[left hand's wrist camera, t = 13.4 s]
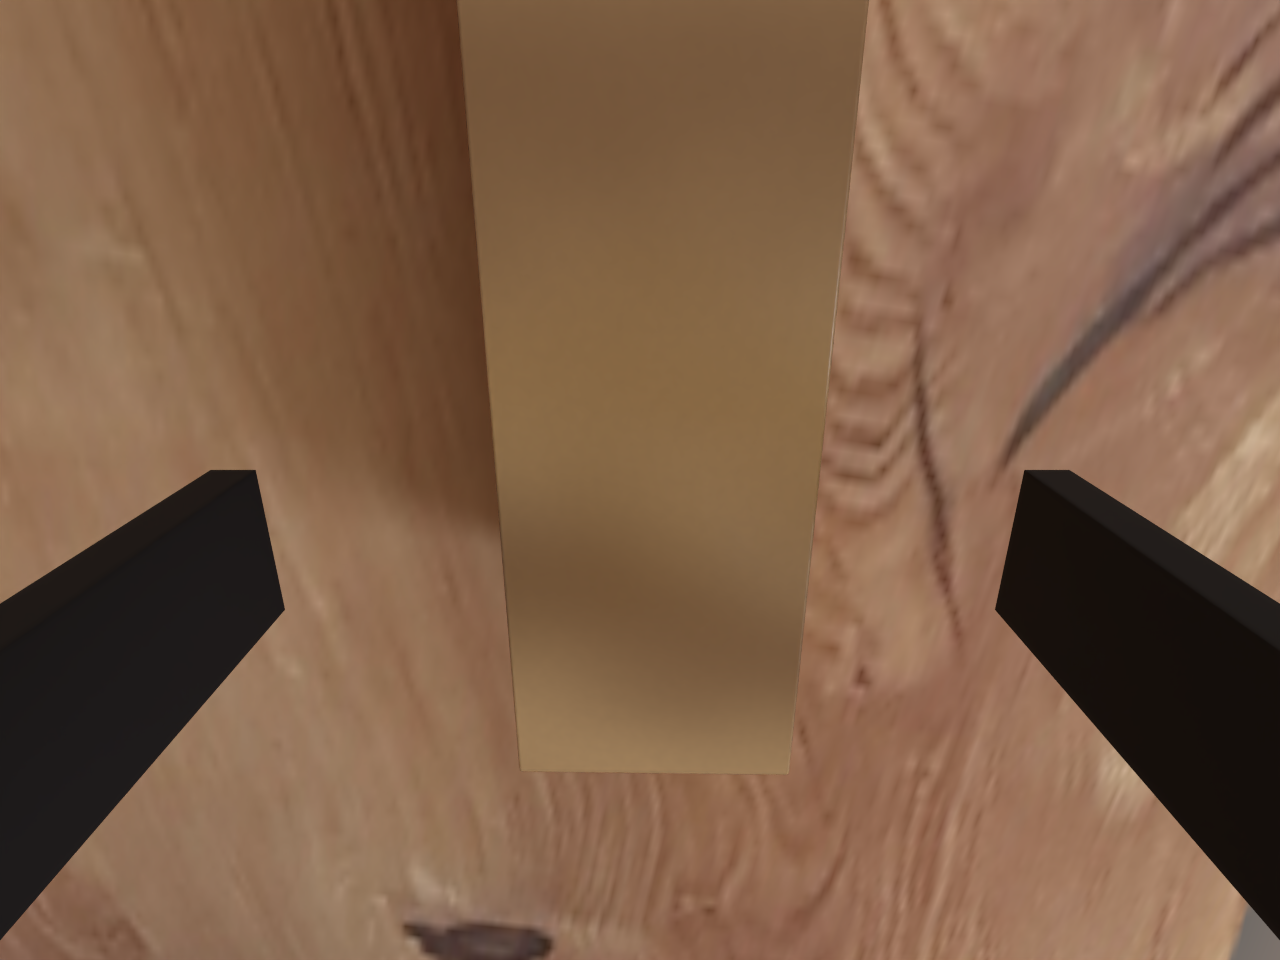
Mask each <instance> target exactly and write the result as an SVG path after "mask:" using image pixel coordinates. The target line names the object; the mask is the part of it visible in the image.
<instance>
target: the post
mask: <svg viewBox="0 0 1280 960" xmlns="http://www.w3.org/2000/svg"><path fill="white" fill-rule="evenodd" d="M456 1H457V14H458V26H459V38H460V50H461V62H462V74H463V87H464V99H465V111H466V123H467V135H468V148H469V160H470V172H471V184H472V196H473V208H474V221H475V233H476V245H477V257H478V269H479V281H480V294H481V306H482V318H483V330H484V342H485V355H486V367H487V379H488V391H489V403H490V415H491V428H492V440H493V452H494V464H495V476H496V489H497V501H498V513H499V525H500V537H501V549H502V562H503V574H504V586H505V598H506V610H507V623H508V635H509V647H510V659H511V671H512V683H513V696H514V708H515V720H516V732H517V744H518V757H519V769H520V771H522V772H591V773H672V774H752V775H787V774H788V773H789V766H790V756H791V747H792V737H793V728H794V718H795V708H796V699H797V689H798V679H799V670H800V660H801V650H802V641H803V631H804V621H805V612H806V602H807V592H808V583H809V573H810V563H811V554H812V544H813V535H814V525H815V515H816V506H817V496H818V486H819V477H820V467H821V457H822V448H823V438H824V428H825V419H826V409H827V399H828V390H829V380H830V371H831V361H832V351H833V342H834V332H835V322H836V313H837V303H838V293H839V284H840V274H841V264H842V255H843V245H844V235H845V226H846V216H847V207H848V197H849V187H850V178H851V168H852V158H853V149H854V139H855V129H856V120H857V110H858V100H859V91H860V81H861V71H862V62H863V52H864V43H865V33H866V23H867V14H868V4H869V0H456Z"/></svg>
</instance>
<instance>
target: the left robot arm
mask: <svg viewBox="0 0 1280 960" xmlns="http://www.w3.org/2000/svg"><path fill="white" fill-rule="evenodd" d="M284 610H285V608H284V603H283V598H282V594H281V589H280V584H279V579H278V575H277V570H276V565H275V560H274V556H273V551H272V546H271V541H270V537H269V532H268V527H267V522H266V518H265V513H264V508H263V503H262V499H261V494H260V489H259V484H258V480H257V475H256V470H210V471H208V472H207V473H205V474H204V475H202V476H201V477H199V478H197V479H196V480H194V481H193V482H191V483H190V484H188V485H186V486H185V487H183V488H182V489H180V490H179V491H177V492H175V493H174V494H172V495H171V496H169V497H168V498H166V499H164V500H163V501H161V502H160V503H158V504H156V505H155V506H153V507H152V508H150V509H149V510H147V511H145V512H144V513H142V514H141V515H139V516H138V517H136V518H134V519H133V520H131V521H130V522H128V523H127V524H125V525H123V526H122V527H120V528H119V529H117V530H116V531H114V532H112V533H111V534H109V535H108V536H106V537H105V538H103V539H101V540H100V541H98V542H97V543H95V544H94V545H92V546H90V547H89V548H87V549H86V550H84V551H82V552H81V553H79V554H78V555H76V556H75V557H73V558H71V559H70V560H68V561H67V562H65V563H64V564H62V565H60V566H59V567H57V568H56V569H54V570H53V571H51V572H49V573H48V574H46V575H45V576H43V577H42V578H40V579H38V580H37V581H35V582H34V583H32V584H31V585H29V586H27V587H26V588H24V589H23V590H21V591H19V592H18V593H16V594H15V595H13V596H12V597H10V598H8V599H7V600H5V601H4V602H2V603H1V604H0V940H1V939H2V937H3V936H4V935H5V934H6V933H7V932H8V930H9V929H10V928H11V927H12V926H13V925H14V924H15V922H16V921H17V920H18V919H19V918H20V917H21V915H22V914H23V913H24V912H25V911H26V910H27V908H28V907H29V906H30V905H31V904H32V903H33V901H34V900H35V899H36V898H37V897H38V896H39V895H40V893H41V892H42V891H43V890H44V889H45V888H46V886H47V885H48V884H49V883H50V882H51V881H52V879H53V878H54V877H55V876H56V875H57V874H58V872H59V871H60V870H61V869H62V868H63V867H64V865H65V864H66V863H67V862H68V861H69V860H70V859H71V857H72V856H73V855H74V854H75V853H76V852H77V850H78V849H79V848H80V847H81V846H82V845H83V843H84V842H85V841H86V840H87V839H88V838H89V836H90V835H91V834H92V833H93V832H94V831H95V829H96V828H97V827H98V826H99V825H100V824H101V823H102V821H103V820H104V819H105V818H106V817H107V816H108V814H109V813H110V812H111V811H112V810H113V809H114V807H115V806H116V805H117V804H118V803H119V802H120V800H121V799H122V798H123V797H124V796H125V795H126V794H127V792H128V791H129V790H130V789H131V788H132V787H133V785H134V784H135V783H136V782H137V781H138V780H139V778H140V777H141V776H142V775H143V774H144V773H145V771H146V770H147V769H148V768H149V767H150V766H151V764H152V763H153V762H154V761H155V760H156V759H157V758H158V756H159V755H160V754H161V753H162V752H163V751H164V749H165V748H166V747H167V746H168V745H169V744H170V742H171V741H172V740H173V739H174V738H175V737H176V735H177V734H178V733H179V732H180V731H181V730H182V729H183V727H184V726H185V725H186V724H187V723H188V722H189V720H190V719H191V718H192V717H193V716H194V715H195V713H196V712H197V711H198V710H199V709H200V708H201V706H202V705H203V704H204V703H205V702H206V701H207V699H208V698H209V697H210V696H211V695H212V694H213V693H214V691H215V690H216V689H217V688H218V687H219V686H220V684H221V683H222V682H223V681H224V680H225V679H226V677H227V676H228V675H229V674H230V673H231V672H232V670H233V669H234V668H235V667H236V666H237V665H238V663H239V662H240V661H241V660H242V659H243V658H244V657H245V655H246V654H247V653H248V652H249V651H250V650H251V648H252V647H253V646H254V645H255V644H256V643H257V641H258V640H259V639H260V638H261V637H262V636H263V634H264V633H265V632H266V631H267V630H268V629H269V628H270V626H271V625H272V624H273V623H274V622H275V621H276V619H277V618H278V617H279V616H280V615H281V614H282V612H283V611H284ZM995 610H996V611H997V612H998V614H999V615H1000V616H1001V617H1002V618H1003V619H1004V621H1005V622H1006V623H1007V624H1008V625H1009V626H1010V628H1011V629H1012V630H1013V631H1014V632H1015V633H1016V634H1017V636H1018V637H1019V638H1020V639H1021V640H1022V641H1023V643H1024V644H1025V645H1026V646H1027V647H1028V648H1029V650H1030V651H1031V652H1032V653H1033V654H1034V655H1035V657H1036V658H1037V659H1038V660H1039V661H1040V662H1041V663H1042V665H1043V666H1044V667H1045V668H1046V669H1047V670H1048V672H1049V673H1050V674H1051V675H1052V676H1053V677H1054V679H1055V680H1056V681H1057V682H1058V683H1059V684H1060V686H1061V687H1062V688H1063V689H1064V690H1065V691H1066V693H1067V694H1068V695H1069V696H1070V697H1071V698H1072V699H1073V701H1074V702H1075V703H1076V704H1077V705H1078V706H1079V708H1080V709H1081V710H1082V711H1083V712H1084V713H1085V715H1086V716H1087V717H1088V718H1089V719H1090V720H1091V722H1092V723H1093V724H1094V725H1095V726H1096V727H1097V729H1098V730H1099V731H1100V732H1101V733H1102V734H1103V735H1104V737H1105V738H1106V739H1107V740H1108V741H1109V742H1110V744H1111V745H1112V746H1113V747H1114V748H1115V749H1116V751H1117V752H1118V753H1119V754H1120V755H1121V756H1122V758H1123V759H1124V760H1125V761H1126V762H1127V763H1128V764H1129V766H1130V767H1131V768H1132V769H1133V770H1134V771H1135V773H1136V774H1137V775H1138V776H1139V777H1140V778H1141V780H1142V781H1143V782H1144V783H1145V784H1146V785H1147V787H1148V788H1149V789H1150V790H1151V791H1152V792H1153V794H1154V795H1155V796H1156V797H1157V798H1158V799H1159V800H1160V802H1161V803H1162V804H1163V805H1164V806H1165V807H1166V809H1167V810H1168V811H1169V812H1170V813H1171V814H1172V816H1173V817H1174V818H1175V819H1176V820H1177V821H1178V823H1179V824H1180V825H1181V826H1182V827H1183V828H1184V830H1185V831H1186V832H1187V833H1188V834H1189V835H1190V836H1191V838H1192V839H1193V840H1194V841H1195V842H1196V843H1197V845H1198V846H1199V847H1200V848H1201V849H1202V850H1203V852H1204V853H1205V854H1206V855H1207V856H1208V857H1209V859H1210V860H1211V861H1212V862H1213V863H1214V864H1215V865H1216V867H1217V868H1218V869H1219V870H1220V871H1221V872H1222V874H1223V875H1224V876H1225V877H1226V878H1227V879H1228V881H1229V882H1230V883H1231V884H1232V885H1233V886H1234V888H1235V889H1236V890H1237V891H1238V892H1239V893H1240V895H1241V896H1242V897H1243V898H1244V899H1245V900H1246V901H1247V903H1248V904H1249V905H1250V906H1251V907H1252V908H1253V910H1254V911H1255V912H1256V913H1257V914H1258V915H1259V917H1260V918H1261V919H1262V920H1263V921H1264V922H1265V923H1266V925H1267V926H1268V927H1269V928H1270V929H1271V930H1272V932H1273V933H1274V934H1275V935H1276V936H1277V937H1278V939H1279V940H1280V604H1279V603H1278V602H1276V601H1275V600H1273V599H1272V598H1270V597H1268V596H1267V595H1265V594H1264V593H1262V592H1261V591H1259V590H1257V589H1256V588H1254V587H1253V586H1251V585H1249V584H1248V583H1246V582H1245V581H1243V580H1242V579H1240V578H1238V577H1237V576H1235V575H1234V574H1232V573H1231V572H1229V571H1227V570H1226V569H1224V568H1223V567H1221V566H1220V565H1218V564H1216V563H1215V562H1213V561H1212V560H1210V559H1209V558H1207V557H1205V556H1204V555H1202V554H1201V553H1199V552H1198V551H1196V550H1194V549H1193V548H1191V547H1190V546H1188V545H1186V544H1185V543H1183V542H1182V541H1180V540H1179V539H1177V538H1175V537H1174V536H1172V535H1171V534H1169V533H1168V532H1166V531H1164V530H1163V529H1161V528H1160V527H1158V526H1157V525H1155V524H1153V523H1152V522H1150V521H1149V520H1147V519H1146V518H1144V517H1142V516H1141V515H1139V514H1138V513H1136V512H1135V511H1133V510H1131V509H1130V508H1128V507H1127V506H1125V505H1124V504H1122V503H1120V502H1119V501H1117V500H1116V499H1114V498H1112V497H1111V496H1109V495H1108V494H1106V493H1105V492H1103V491H1101V490H1100V489H1098V488H1097V487H1095V486H1094V485H1092V484H1090V483H1089V482H1087V481H1086V480H1084V479H1083V478H1081V477H1079V476H1078V475H1076V474H1075V473H1073V472H1072V471H1070V470H1024V475H1023V479H1022V484H1021V489H1020V494H1019V499H1018V503H1017V508H1016V513H1015V518H1014V522H1013V527H1012V532H1011V537H1010V541H1009V546H1008V551H1007V556H1006V560H1005V565H1004V570H1003V575H1002V579H1001V584H1000V589H999V594H998V598H997V603H996V608H995Z"/></svg>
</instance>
